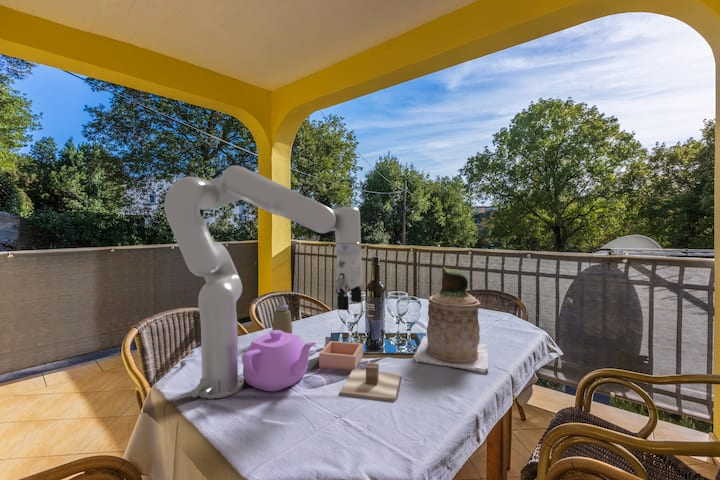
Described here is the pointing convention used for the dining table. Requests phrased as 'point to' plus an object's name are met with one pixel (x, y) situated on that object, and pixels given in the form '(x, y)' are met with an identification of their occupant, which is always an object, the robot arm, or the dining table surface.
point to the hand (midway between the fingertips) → (350, 305)
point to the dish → (341, 355)
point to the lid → (372, 383)
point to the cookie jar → (453, 327)
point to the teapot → (275, 361)
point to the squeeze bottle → (282, 317)
